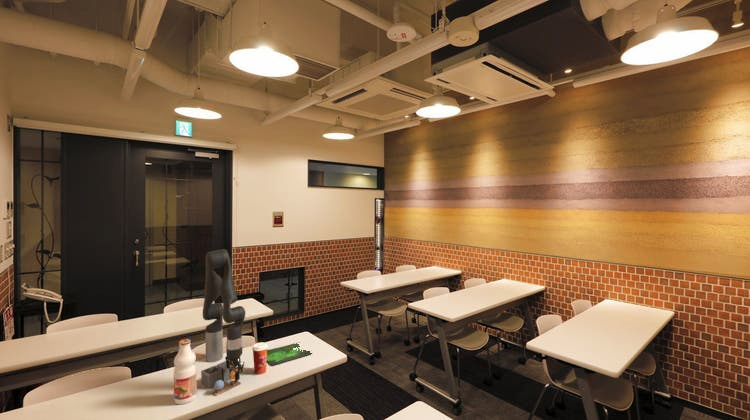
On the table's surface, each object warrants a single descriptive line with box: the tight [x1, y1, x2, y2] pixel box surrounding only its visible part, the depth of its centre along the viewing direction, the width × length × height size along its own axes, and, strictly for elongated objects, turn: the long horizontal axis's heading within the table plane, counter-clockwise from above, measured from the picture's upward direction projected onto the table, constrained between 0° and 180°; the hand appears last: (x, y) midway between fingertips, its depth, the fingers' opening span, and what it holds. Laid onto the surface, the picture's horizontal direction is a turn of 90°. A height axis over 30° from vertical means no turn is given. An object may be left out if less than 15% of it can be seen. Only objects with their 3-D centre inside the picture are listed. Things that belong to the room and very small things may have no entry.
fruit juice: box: [173, 338, 198, 405], centre depth 155 cm, size 9×9×28 cm
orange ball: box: [230, 370, 235, 379], centre depth 167 cm, size 4×4×4 cm
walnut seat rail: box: [212, 380, 241, 397], centre depth 163 cm, size 3×13×2 cm, turn 144°
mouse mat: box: [266, 342, 313, 367], centre depth 202 cm, size 27×22×1 cm
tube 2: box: [215, 360, 231, 382], centre depth 175 cm, size 7×7×7 cm
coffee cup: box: [251, 341, 269, 375], centre depth 180 cm, size 8×8×15 cm
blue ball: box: [214, 380, 224, 390], centre depth 160 cm, size 4×4×4 cm
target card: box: [211, 378, 235, 390], centre depth 168 cm, size 4×12×1 cm, turn 144°
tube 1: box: [200, 365, 222, 390], centre depth 168 cm, size 7×7×7 cm
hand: (234, 378), depth 167 cm, fingers closed on orange ball, 4 cm apart
